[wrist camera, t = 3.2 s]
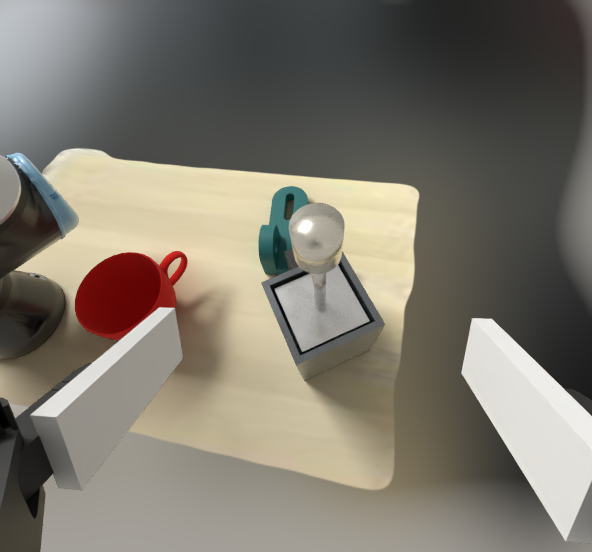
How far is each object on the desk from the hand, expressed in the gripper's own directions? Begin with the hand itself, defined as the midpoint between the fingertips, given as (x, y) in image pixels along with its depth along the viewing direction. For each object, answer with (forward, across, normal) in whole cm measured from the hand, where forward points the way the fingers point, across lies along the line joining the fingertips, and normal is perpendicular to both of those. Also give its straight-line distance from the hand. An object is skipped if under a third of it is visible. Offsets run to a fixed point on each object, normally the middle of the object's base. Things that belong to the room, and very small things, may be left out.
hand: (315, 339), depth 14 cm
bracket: (+45, -7, -5) cm, 46 cm away
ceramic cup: (+34, -28, -16) cm, 47 cm away
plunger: (+22, -1, -9) cm, 24 cm away
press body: (+33, -1, -17) cm, 37 cm away
